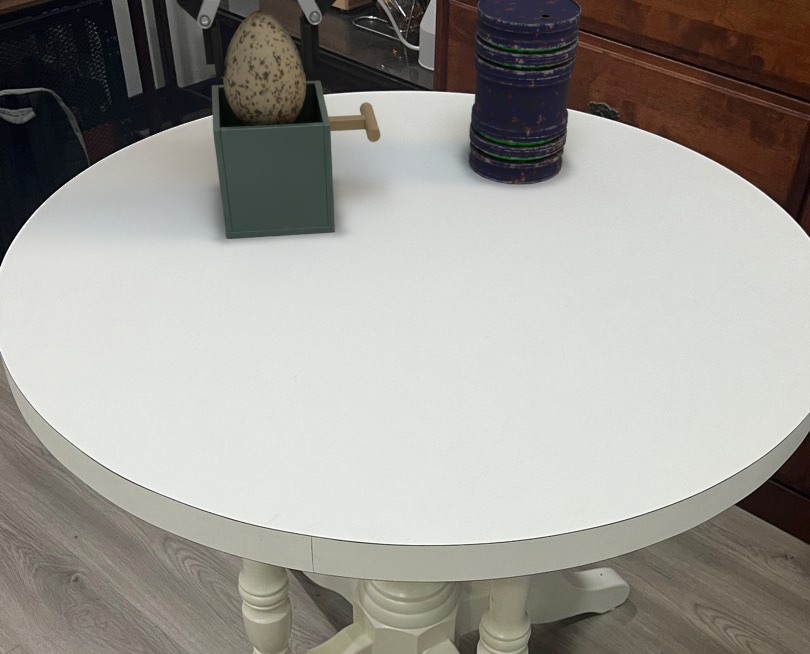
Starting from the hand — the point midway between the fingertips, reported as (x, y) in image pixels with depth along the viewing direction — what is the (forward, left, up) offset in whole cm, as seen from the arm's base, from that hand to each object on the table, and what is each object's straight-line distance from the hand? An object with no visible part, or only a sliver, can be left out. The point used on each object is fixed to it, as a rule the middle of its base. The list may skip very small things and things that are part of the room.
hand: (263, 69), depth 86 cm
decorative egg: (0, 0, -5) cm, 5 cm away
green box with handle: (-5, 0, -8) cm, 9 cm away
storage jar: (+25, +7, -13) cm, 29 cm away
